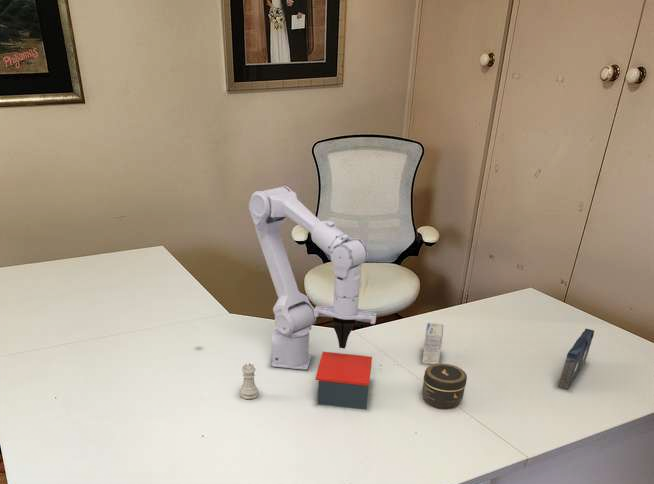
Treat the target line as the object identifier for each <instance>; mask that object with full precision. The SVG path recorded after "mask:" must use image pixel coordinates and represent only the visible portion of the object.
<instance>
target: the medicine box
mask: <svg viewBox="0 0 654 484" xmlns="http://www.w3.org/2000/svg"><path fill="white" fill-rule="evenodd" d="M425 329H426V330H425V336H424V344H423V352H422V360H421V363H422V364H425V365H433V364H440V359H441V357H440V356H441V352H442V351H441V350H442V344H443V337H444V324H442V323H434V322H427V323H426V328H425Z"/></svg>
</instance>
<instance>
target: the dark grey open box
mask: <svg viewBox="0 0 654 484" xmlns="http://www.w3.org/2000/svg"><path fill="white" fill-rule="evenodd" d="M371 365H373V363H371ZM370 375H371V372H370ZM370 382H371V379H370V380H369V384H370ZM317 386H318V387H317V405H321V406H330V407H340V408H341V407H342V408H351V409H359V410H367V408H368V399H369V390H370V385H369V386H364V385H354V384H345V383H336V382H327V381H318V385H317Z"/></svg>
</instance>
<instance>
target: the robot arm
mask: <svg viewBox="0 0 654 484" xmlns="http://www.w3.org/2000/svg"><path fill="white" fill-rule="evenodd" d="M247 205H248V206H247V207H248V209H249V210H248V211H249V214H250V217H251V219H252V221H253V222H252V223H253V225H254V229H255V232H256V236H257V239H258V242H259V245H260V247H261V251H262V254H263V256H264V259H265V262H266V265H267V268H268V272H269V275H270V278H271V280H272V284H273V287H274V289H275V292H276V296H277V300H276V302H275V304H274V306H273V308H272V311H273V314H274V324H275V327H276V328H274V330H273V333H272V340H271V367H273V368H282V369H283V368H284V369H294V370H303V371H307V370H308V369H309V366H310V364H311V363H310V362H311V359H312V355H311V354H309V351H310V350H309V347H310V346H309V345H310V331H311V330H312V326H313V325H314V324H315V323H316V321H317V318H319V317H325V318H332V321H331V325H332V328H333V330H334V332H335V335H336V337H337V341H338V348H339V349H343V350H344V349H346V347H347V344H348V343H347V342H348V339H349V336H350V334H351V332H352V331H353V329H354V327H355V325H356V322H363V323H370V325H375V324H376V322H377V312H370V311H368V310H367V311H366V310H363V309H359V297H360V289H361V287H360V286H361V273H362V265H363V264H365V262H366V261H367V259H368V255H369V254H368V248H367V245H366V244H365V242H363V241H362V239H361V238H357V237H355V238H352V237H350V236H349V235H348V234H347V233H344V232H343V231H342V230H340V229H339V228H338V227H337V226H335V223H334V222H333V221H332V220H330V221H329V220H320V219H319V218H318V217H317V216H316V215H315V214H314V213H313V212H312V211H310V209H308V208H307V207H306V206H305V205H304V203H302V202H301V201H300V200H299V199H298V194H297V193H296V192H295V191H293V190H292V189H291V188H290V187H289V186H286V185H282V186H279V187H275V188H271V189H264V190H257V191H254V192H253V193H252V194H251V197H250V200H249V203H248V204H247ZM288 218H289V219H290V220H291V221H292V222H294V223H295V224H297V225H298V226H299V227H301V228H303V229H304V230H305V231H307V232H308V233H309V234H310V237H311V241H312V242H313V243H314V244H315V245H316V246H318V248H320V249H321V250H322V251H323V252H325V253H326V254H327V255H328V256H330V261H331V263H332V266H333V273H334V290H333V291H334V292H333V304H332V305H330V306H329V305H328V306H325V305H324V306H321V305H316V306H315V307H314V306H313V305H312V304H311V302H310V300H309V297H308V296H307V295H305V294H304V293H302V292H301V291H299V288H298V285H297V281H296V279H295V276H294V273H293V269H292V266H291V263H290V260H289V257H288V254H287V251H286V247H285V245H284V242H283V239H282V236H281V233H280V228H281V226H282V224H283V223H284V222H285V221H286V219H288Z"/></svg>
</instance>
